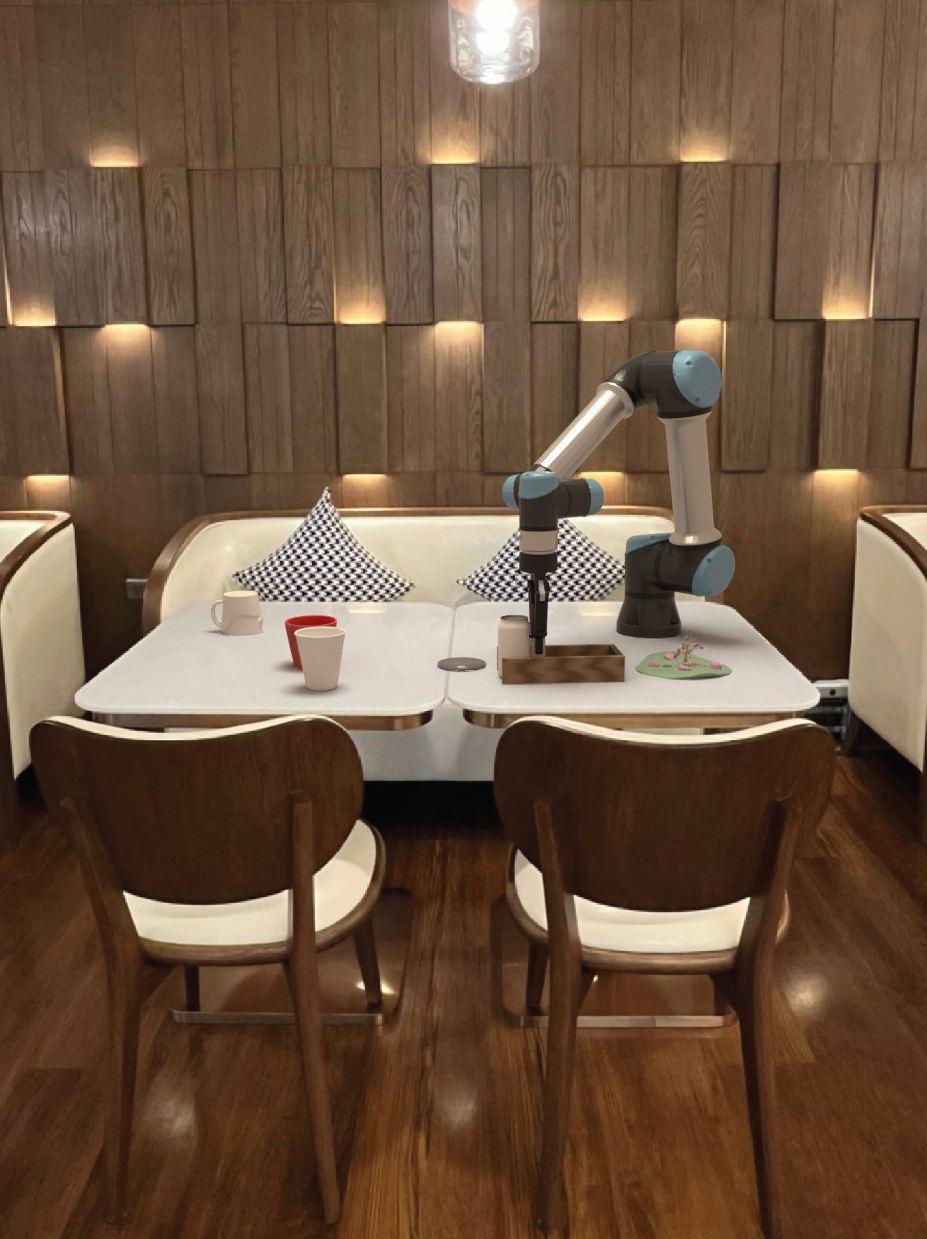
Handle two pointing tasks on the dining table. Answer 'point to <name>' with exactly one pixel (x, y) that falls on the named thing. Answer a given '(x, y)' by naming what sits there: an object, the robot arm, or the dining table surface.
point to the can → (513, 638)
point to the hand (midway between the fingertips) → (537, 668)
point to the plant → (680, 664)
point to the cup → (320, 656)
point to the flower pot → (301, 623)
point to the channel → (566, 665)
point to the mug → (239, 613)
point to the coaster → (461, 664)
